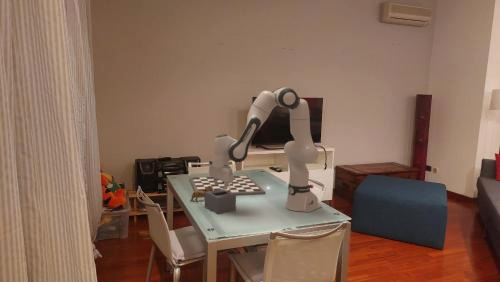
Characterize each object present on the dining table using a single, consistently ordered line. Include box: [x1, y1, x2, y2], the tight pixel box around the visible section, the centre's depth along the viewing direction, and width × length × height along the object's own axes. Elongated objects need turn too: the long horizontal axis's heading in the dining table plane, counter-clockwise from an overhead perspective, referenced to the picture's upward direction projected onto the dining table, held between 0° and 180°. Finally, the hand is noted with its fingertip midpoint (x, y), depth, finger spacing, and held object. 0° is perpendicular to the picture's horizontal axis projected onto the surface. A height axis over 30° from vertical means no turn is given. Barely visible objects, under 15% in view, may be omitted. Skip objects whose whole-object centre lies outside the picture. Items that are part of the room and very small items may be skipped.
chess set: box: [189, 175, 266, 198], centre depth 254 cm, size 45×45×11 cm
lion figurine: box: [189, 186, 213, 203], centre depth 220 cm, size 15×5×9 cm, turn 118°
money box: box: [204, 189, 237, 215], centre depth 207 cm, size 12×14×9 cm
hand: (220, 187), depth 206 cm, fingers open, 8 cm apart
